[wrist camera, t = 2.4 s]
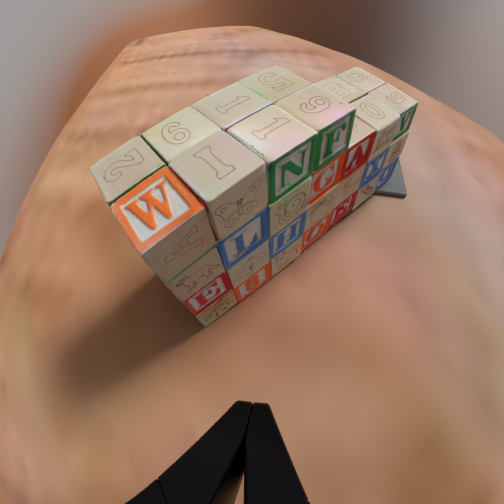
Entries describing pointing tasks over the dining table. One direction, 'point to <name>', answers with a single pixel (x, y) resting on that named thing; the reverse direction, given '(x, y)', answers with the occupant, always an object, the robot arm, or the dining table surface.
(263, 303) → the dining table surface
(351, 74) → the stack of blocks
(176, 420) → the dining table surface
